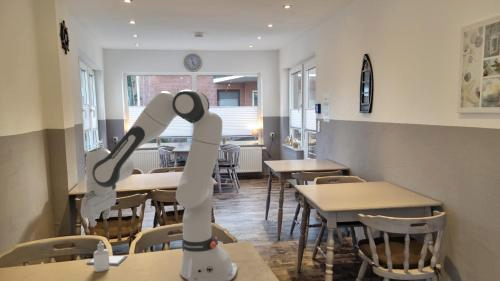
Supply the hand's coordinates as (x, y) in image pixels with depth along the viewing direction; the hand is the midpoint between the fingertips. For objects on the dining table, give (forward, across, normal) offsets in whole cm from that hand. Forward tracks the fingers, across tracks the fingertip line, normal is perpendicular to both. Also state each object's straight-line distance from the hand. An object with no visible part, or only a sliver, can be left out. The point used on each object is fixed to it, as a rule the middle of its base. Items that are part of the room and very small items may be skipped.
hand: (100, 222), depth 138 cm
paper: (+20, +7, +2) cm, 21 cm away
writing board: (+20, +7, +2) cm, 21 cm away
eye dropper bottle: (+20, -1, -1) cm, 20 cm away
